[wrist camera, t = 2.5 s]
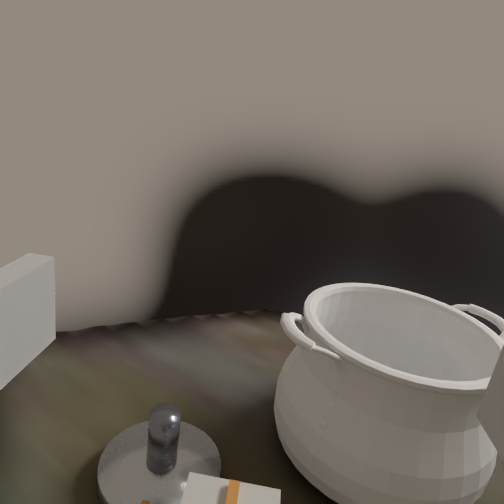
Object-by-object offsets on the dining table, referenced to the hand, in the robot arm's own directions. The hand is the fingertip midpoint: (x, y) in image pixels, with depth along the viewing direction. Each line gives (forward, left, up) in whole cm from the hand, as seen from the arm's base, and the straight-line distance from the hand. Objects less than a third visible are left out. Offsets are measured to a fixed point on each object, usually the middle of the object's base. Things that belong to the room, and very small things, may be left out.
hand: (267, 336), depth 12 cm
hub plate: (-17, -15, -30) cm, 38 cm away
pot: (-34, +3, -31) cm, 46 cm away
